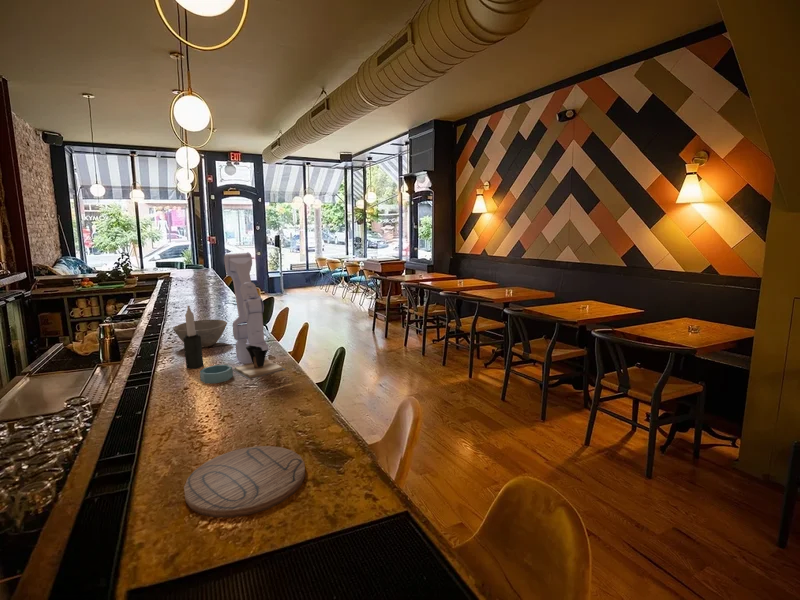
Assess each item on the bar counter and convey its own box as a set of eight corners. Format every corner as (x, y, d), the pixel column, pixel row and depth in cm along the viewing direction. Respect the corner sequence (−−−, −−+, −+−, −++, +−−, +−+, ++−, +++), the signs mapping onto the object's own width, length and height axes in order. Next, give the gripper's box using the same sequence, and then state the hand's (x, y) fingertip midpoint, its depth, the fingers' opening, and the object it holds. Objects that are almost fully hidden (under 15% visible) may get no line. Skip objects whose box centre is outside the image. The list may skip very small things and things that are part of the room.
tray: (231, 371, 172) (231, 369, 172) (268, 362, 182) (267, 360, 182) (248, 380, 161) (248, 379, 161) (286, 370, 171) (286, 369, 171)
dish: (198, 380, 164) (196, 369, 163) (225, 373, 170) (224, 363, 170) (208, 387, 156) (207, 376, 156) (236, 379, 163) (235, 369, 162)
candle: (204, 366, 180) (198, 304, 175) (197, 370, 175) (191, 306, 170) (192, 366, 180) (185, 304, 176) (185, 370, 175) (178, 306, 171)
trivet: (263, 443, 117) (262, 436, 116) (328, 475, 101) (328, 468, 101) (163, 488, 98) (162, 480, 97) (224, 537, 82) (223, 528, 82)
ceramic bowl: (175, 343, 215) (173, 322, 213) (227, 337, 224) (225, 317, 223) (174, 355, 195) (171, 333, 193) (231, 348, 205) (228, 326, 203)
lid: (235, 369, 172) (233, 357, 171) (266, 362, 181) (265, 350, 180) (249, 377, 163) (248, 364, 162) (282, 369, 171) (281, 356, 170)
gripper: (237, 329, 172) (240, 363, 174) (253, 335, 161) (256, 371, 164) (254, 325, 176) (257, 359, 179) (272, 331, 166) (274, 367, 168)
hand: (258, 365), depth 171 cm, fingers closed on lid, 3 cm apart
